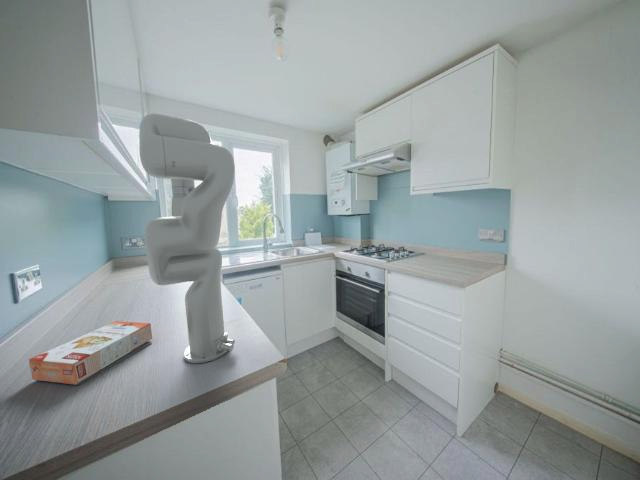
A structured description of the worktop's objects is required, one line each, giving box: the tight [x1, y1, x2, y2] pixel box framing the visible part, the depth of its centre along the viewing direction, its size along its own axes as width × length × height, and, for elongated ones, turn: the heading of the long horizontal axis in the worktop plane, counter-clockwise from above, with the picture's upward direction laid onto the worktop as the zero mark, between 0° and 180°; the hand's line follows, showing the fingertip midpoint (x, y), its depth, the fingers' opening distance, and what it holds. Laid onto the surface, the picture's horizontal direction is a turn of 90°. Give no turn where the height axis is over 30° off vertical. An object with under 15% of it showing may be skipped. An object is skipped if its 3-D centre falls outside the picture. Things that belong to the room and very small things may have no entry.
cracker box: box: [28, 320, 153, 386], centre depth 65 cm, size 14×6×21 cm
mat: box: [77, 341, 153, 385], centre depth 66 cm, size 16×18×1 cm
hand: (188, 240), depth 87 cm, fingers closed
